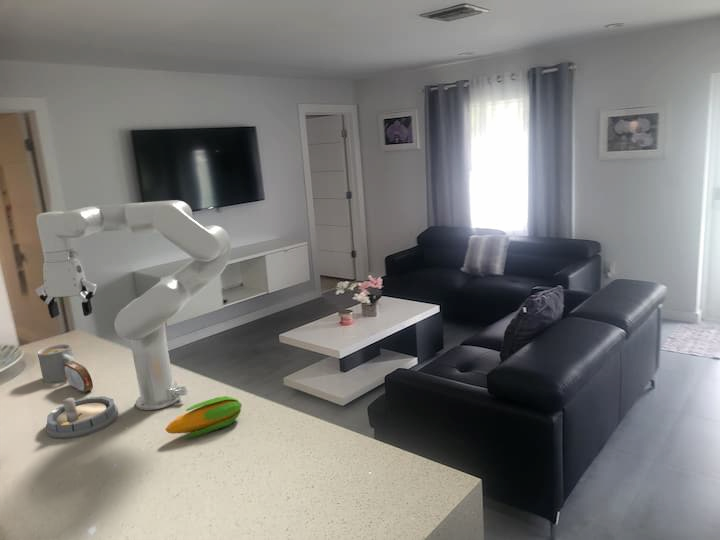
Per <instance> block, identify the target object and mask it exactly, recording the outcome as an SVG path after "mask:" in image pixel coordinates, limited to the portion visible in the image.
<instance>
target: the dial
mask: <svg viewBox="0 0 720 540" xmlns="http://www.w3.org/2000/svg"><path fill="white" fill-rule="evenodd" d="M75 401H76V400H75V398H74V397H68V398H65V399H63V401H62V403H63V405H64V408H65V412H63V413H61V414H60V415H59V416H58V418H57V423H64V422H70V423H74V422H78V421H82V420H86V419H90V418H92V417H94V416H96V415H98V414H100V413H102V412H104V411H105V410H106V406H105V405H104V404H101V403H88V404H83V405H79V406H75Z"/></svg>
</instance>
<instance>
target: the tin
mask: <svg viewBox="0 0 720 540" xmlns="http://www.w3.org/2000/svg"><path fill="white" fill-rule="evenodd" d="M74 361H75V360H74ZM74 361H72V362H70V363H67V364H65V365H64V370H65V374H66V378H67V382H68V384H69V385H70V387H72V388H74V389H76V390H77V391H79V392H81V393H87V392H89V391H91V390H93V388H94V384H93V379H92V377H91V376H92V375H91V374H90V372H89V371H88V369H87V368H86V367H85V366H84V365H82V364H80V363H78V362H76V361H75V362H74Z"/></svg>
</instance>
